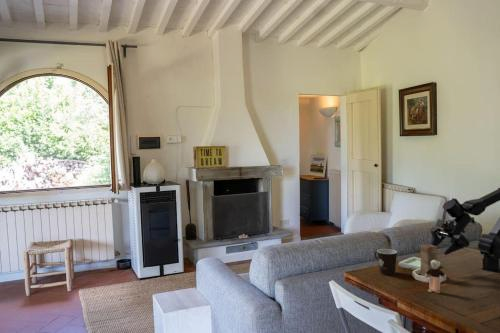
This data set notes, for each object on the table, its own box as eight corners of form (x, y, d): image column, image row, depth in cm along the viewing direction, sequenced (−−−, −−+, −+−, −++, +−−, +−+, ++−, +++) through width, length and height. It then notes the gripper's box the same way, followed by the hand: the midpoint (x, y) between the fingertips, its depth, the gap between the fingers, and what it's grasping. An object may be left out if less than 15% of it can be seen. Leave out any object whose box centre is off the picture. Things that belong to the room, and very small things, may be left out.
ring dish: (450, 277, 173) (450, 273, 173) (435, 284, 166) (435, 279, 166) (422, 271, 183) (422, 267, 183) (408, 277, 175) (407, 273, 175)
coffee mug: (400, 275, 178) (399, 253, 178) (380, 276, 178) (380, 254, 178) (391, 268, 190) (391, 247, 189) (373, 268, 190) (372, 247, 189)
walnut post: (430, 275, 177) (429, 244, 176) (437, 278, 173) (436, 246, 172) (420, 276, 176) (420, 245, 175) (427, 279, 172) (427, 247, 171)
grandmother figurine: (425, 292, 158) (424, 260, 157) (424, 289, 161) (424, 258, 160) (446, 294, 155) (446, 262, 154) (446, 291, 158) (445, 259, 158)
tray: (440, 266, 189) (440, 262, 189) (425, 272, 181) (425, 268, 181) (413, 260, 200) (413, 256, 200) (398, 266, 192) (398, 262, 191)
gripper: (433, 209, 184) (412, 235, 182) (463, 215, 166) (440, 244, 164) (448, 225, 187) (427, 250, 185) (479, 233, 168) (457, 261, 166)
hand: (437, 251), depth 175 cm, fingers open, 9 cm apart
